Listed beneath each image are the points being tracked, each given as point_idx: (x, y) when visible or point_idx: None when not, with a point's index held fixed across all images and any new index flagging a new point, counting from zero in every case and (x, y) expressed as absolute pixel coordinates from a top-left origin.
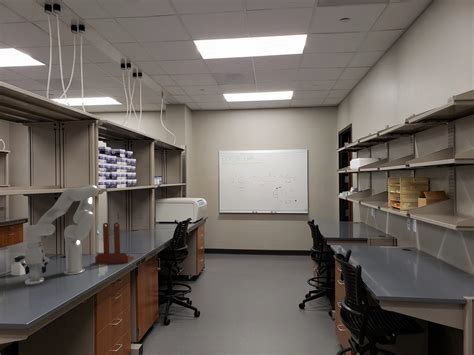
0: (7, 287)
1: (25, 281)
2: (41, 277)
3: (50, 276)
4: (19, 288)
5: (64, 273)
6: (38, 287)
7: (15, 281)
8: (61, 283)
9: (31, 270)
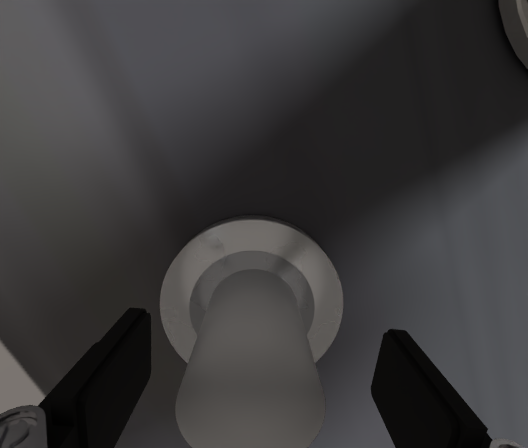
0: None
1: (176, 343)
2: (295, 231)
3: (348, 98)
4: None
5: (514, 38)
6: (345, 439)
7: (12, 210)
8: (510, 380)
9: (211, 435)
